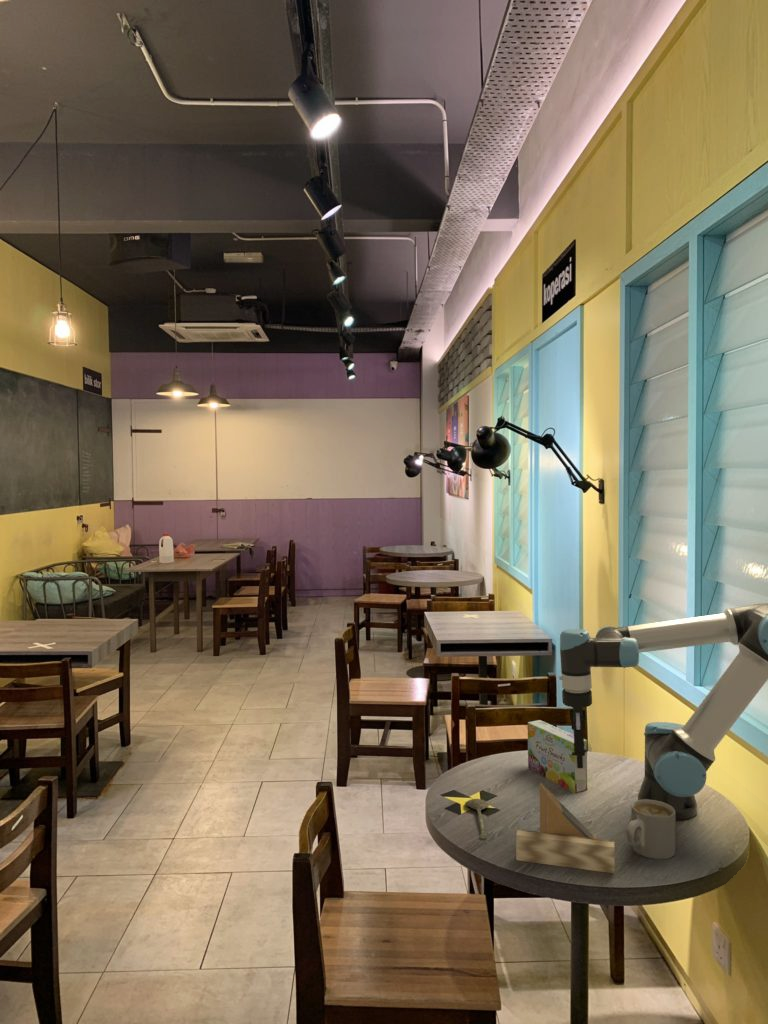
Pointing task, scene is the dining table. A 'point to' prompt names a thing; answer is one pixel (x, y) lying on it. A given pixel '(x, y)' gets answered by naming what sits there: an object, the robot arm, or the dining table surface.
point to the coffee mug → (652, 829)
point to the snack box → (554, 755)
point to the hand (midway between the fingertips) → (580, 778)
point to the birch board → (565, 850)
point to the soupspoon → (478, 806)
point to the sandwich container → (559, 817)
